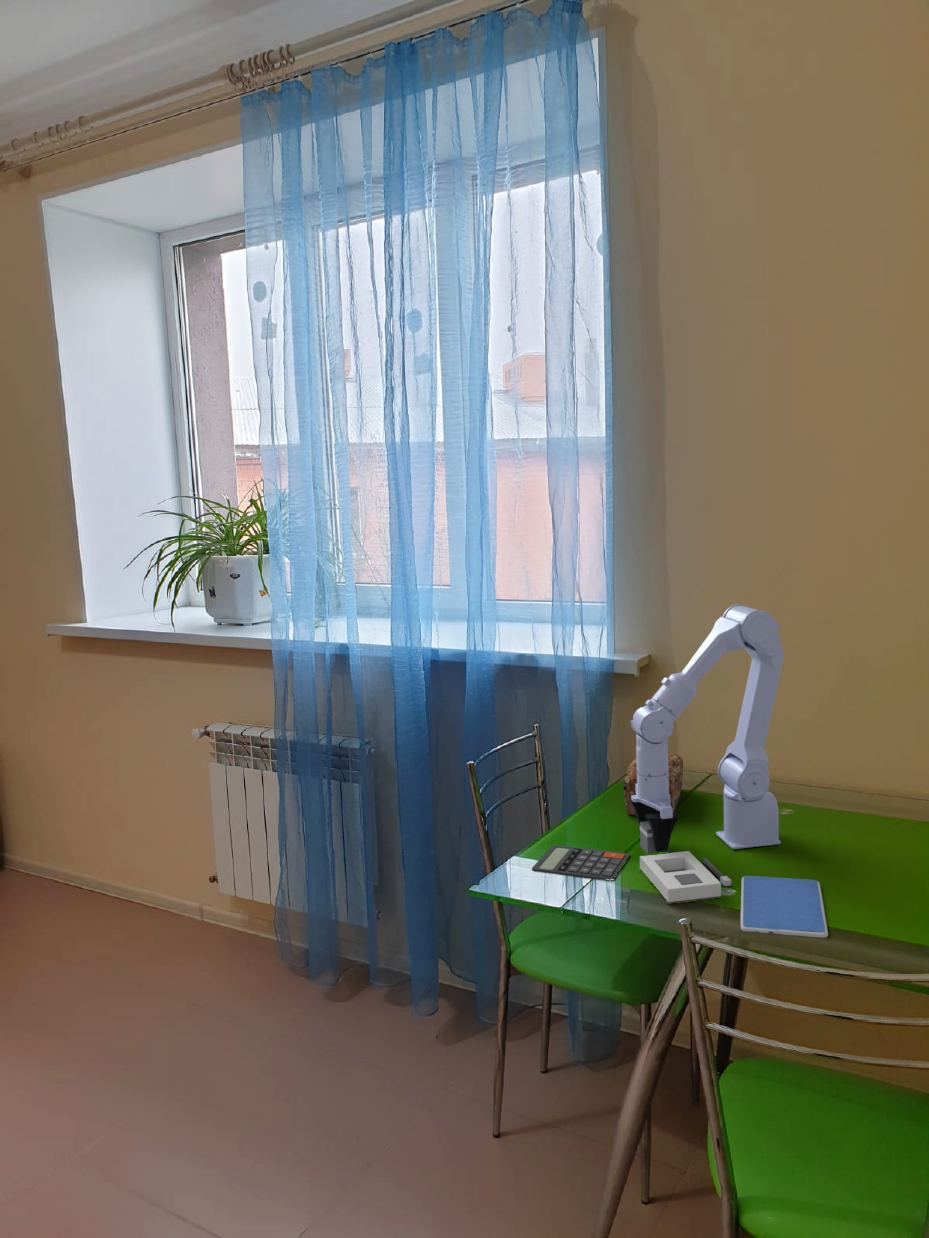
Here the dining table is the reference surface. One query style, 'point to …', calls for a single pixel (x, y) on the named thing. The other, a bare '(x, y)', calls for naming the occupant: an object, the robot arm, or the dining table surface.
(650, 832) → the block
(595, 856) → the calculator
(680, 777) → the bread
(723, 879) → the cable
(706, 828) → the dining table surface
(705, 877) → the switch plate
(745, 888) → the tablet computer
